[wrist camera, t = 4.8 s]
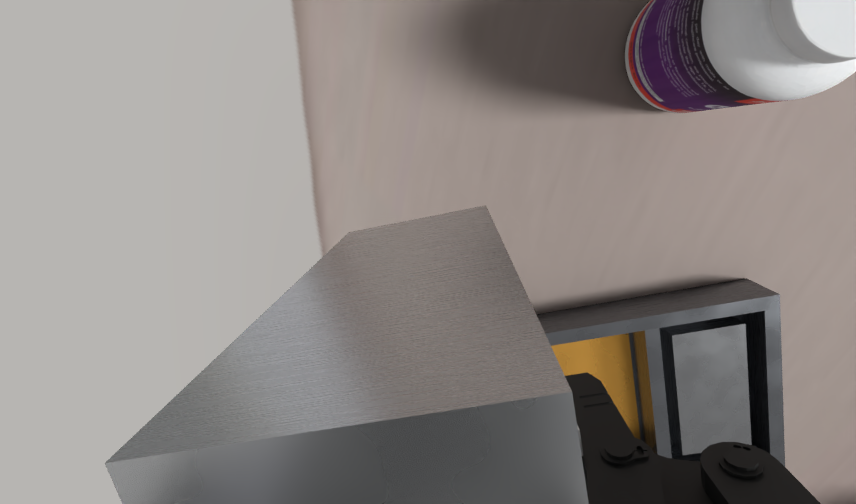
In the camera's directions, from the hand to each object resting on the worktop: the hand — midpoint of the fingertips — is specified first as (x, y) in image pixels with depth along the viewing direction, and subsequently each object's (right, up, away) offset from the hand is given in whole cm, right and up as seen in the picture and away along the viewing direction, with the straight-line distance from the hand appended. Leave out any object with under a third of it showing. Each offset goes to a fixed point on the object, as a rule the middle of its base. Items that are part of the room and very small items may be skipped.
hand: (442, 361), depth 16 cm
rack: (+13, -7, +21) cm, 26 cm away
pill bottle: (+17, +17, +15) cm, 28 cm away
